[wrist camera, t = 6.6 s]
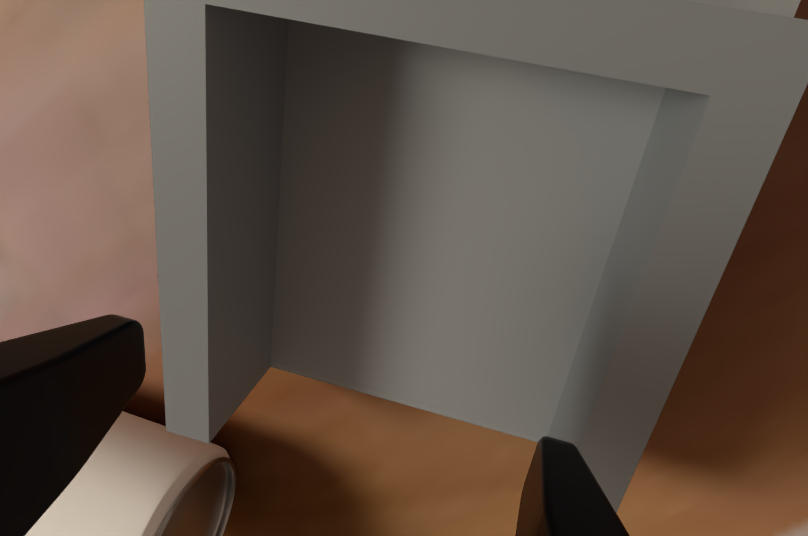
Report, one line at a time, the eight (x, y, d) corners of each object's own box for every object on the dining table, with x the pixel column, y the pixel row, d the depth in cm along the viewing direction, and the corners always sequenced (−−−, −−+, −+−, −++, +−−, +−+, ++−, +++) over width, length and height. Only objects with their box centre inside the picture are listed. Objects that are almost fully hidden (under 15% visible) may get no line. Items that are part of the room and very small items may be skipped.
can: (110, 588, 14) (-267, 436, 16) (134, 703, 18) (-180, 567, 19) (241, 409, 20) (-51, 311, 21) (240, 524, 23) (-12, 430, 25)
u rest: (606, 438, 17) (620, 571, 13) (233, 335, 19) (145, 424, 15) (787, -10, 12) (904, -17, 8) (239, -94, 13) (104, -135, 9)
